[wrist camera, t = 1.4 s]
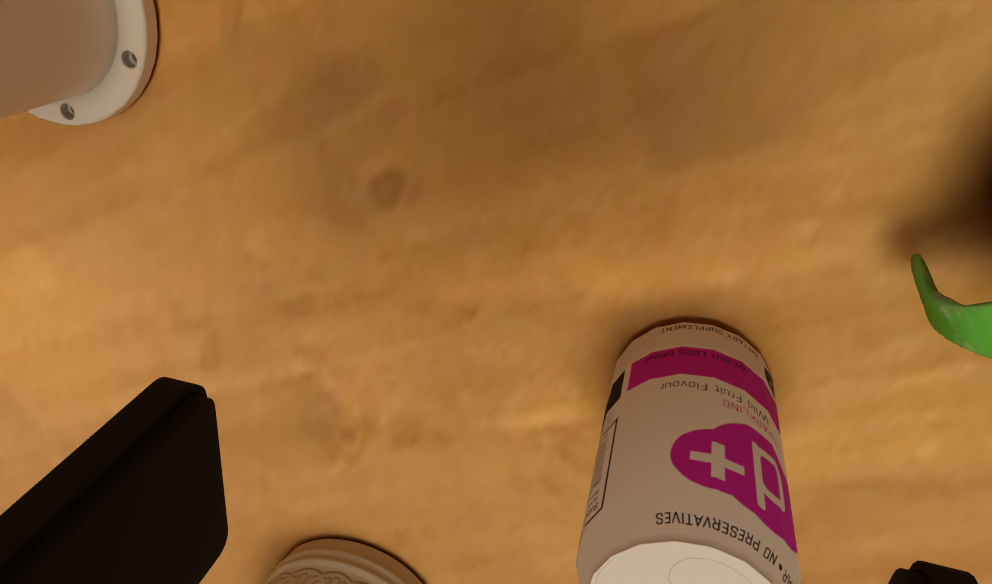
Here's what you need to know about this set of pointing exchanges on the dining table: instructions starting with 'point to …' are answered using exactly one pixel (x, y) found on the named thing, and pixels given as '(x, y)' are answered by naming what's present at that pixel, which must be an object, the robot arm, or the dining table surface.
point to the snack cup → (954, 313)
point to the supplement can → (689, 468)
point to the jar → (339, 565)
